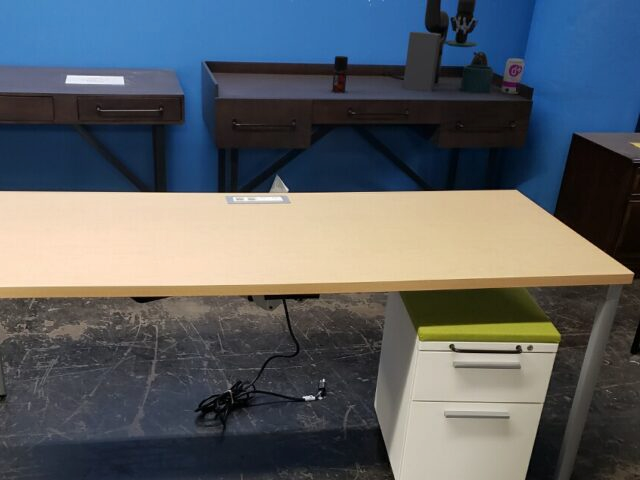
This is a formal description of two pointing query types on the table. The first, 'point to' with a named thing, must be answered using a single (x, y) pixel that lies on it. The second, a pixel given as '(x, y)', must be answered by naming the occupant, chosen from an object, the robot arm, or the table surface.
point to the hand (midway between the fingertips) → (460, 42)
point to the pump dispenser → (479, 59)
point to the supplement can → (512, 75)
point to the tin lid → (460, 41)
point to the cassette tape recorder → (421, 60)
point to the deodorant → (340, 74)
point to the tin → (477, 78)
